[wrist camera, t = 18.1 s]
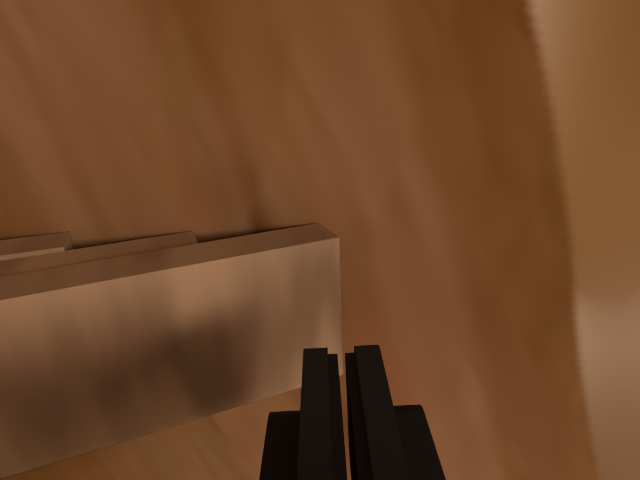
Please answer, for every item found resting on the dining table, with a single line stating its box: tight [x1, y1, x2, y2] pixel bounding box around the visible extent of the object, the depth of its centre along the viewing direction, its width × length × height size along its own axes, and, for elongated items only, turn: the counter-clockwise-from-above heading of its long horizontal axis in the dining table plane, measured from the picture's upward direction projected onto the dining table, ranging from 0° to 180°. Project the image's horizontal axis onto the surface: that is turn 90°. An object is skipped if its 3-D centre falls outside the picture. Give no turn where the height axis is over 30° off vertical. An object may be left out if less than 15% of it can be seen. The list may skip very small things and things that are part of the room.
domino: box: [0, 223, 343, 478], centre depth 13 cm, size 5×2×10 cm
